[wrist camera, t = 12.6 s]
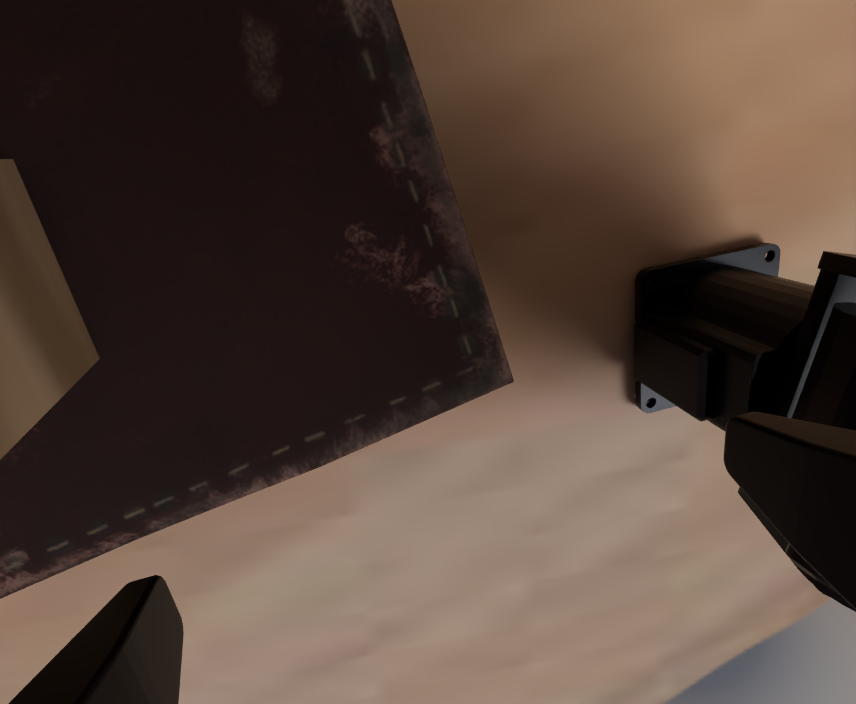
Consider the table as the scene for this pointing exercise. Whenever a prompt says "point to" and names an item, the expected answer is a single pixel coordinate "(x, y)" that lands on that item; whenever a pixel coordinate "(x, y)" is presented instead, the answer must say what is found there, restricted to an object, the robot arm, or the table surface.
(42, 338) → the metal block
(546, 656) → the table surface
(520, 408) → the table surface
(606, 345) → the table surface
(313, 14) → the diary
